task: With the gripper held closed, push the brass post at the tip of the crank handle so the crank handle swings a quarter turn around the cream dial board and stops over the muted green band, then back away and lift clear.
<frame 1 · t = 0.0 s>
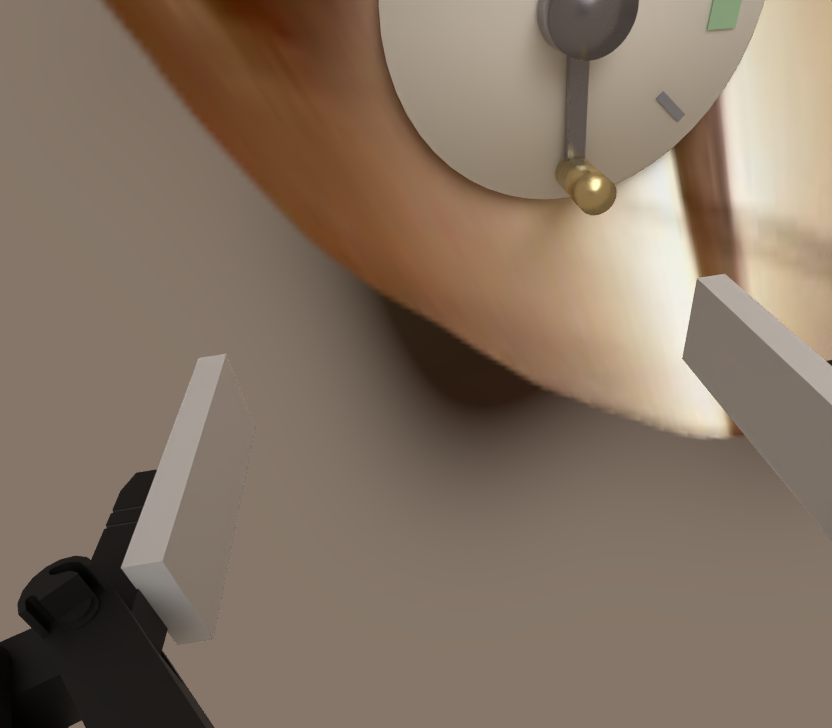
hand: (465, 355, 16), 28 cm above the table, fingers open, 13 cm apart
dial board: (570, 5, 36), on the table
crank handle: (588, 92, 35), point 4 cm above the table, hinge at 0.0°
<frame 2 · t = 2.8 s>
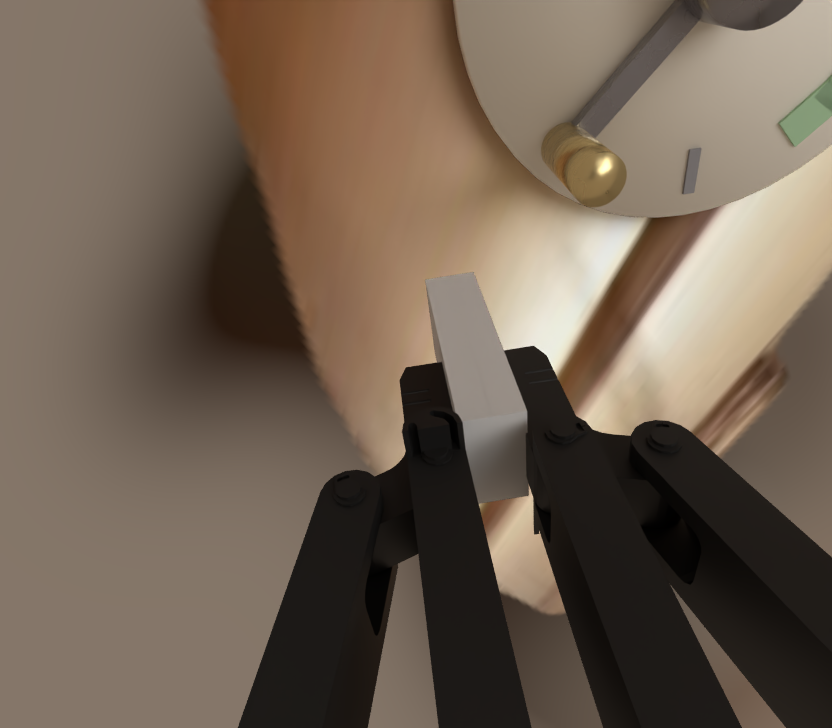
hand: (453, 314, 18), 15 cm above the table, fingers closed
crank handle: (675, 55, 25), point 4 cm above the table, hinge at 0.0°
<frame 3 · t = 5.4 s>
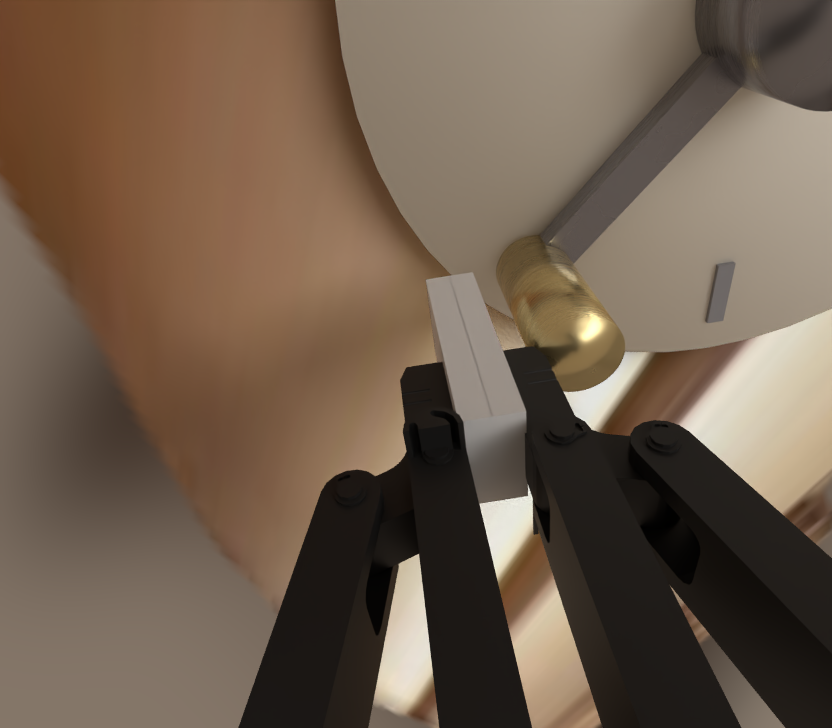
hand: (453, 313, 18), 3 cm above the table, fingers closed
crank handle: (704, 150, 15), point 4 cm above the table, hinge at 0.5°, touching gripper
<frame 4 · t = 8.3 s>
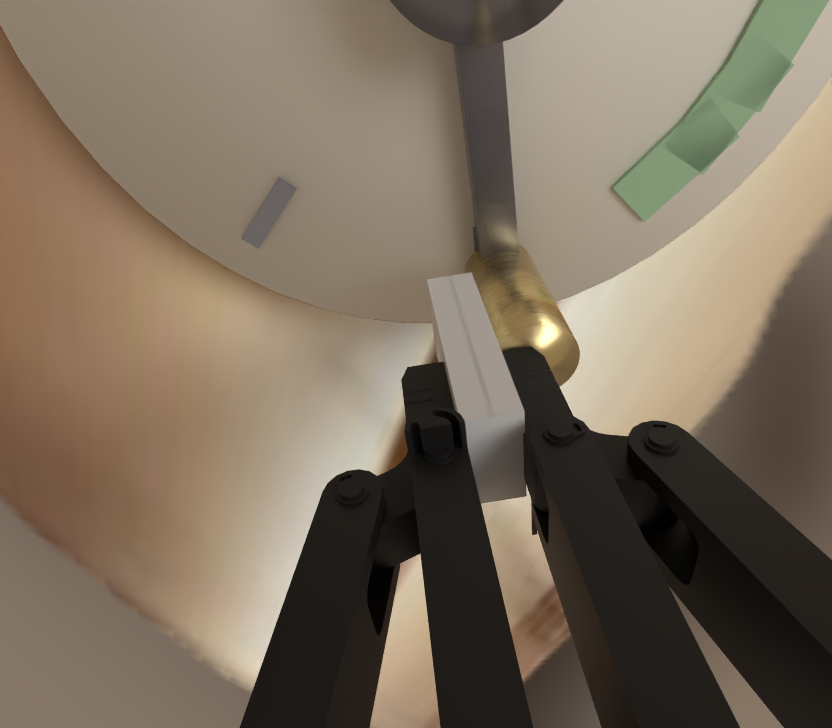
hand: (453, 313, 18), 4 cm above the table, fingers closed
crank handle: (498, 124, 14), point 4 cm above the table, hinge at 47.5°, touching gripper
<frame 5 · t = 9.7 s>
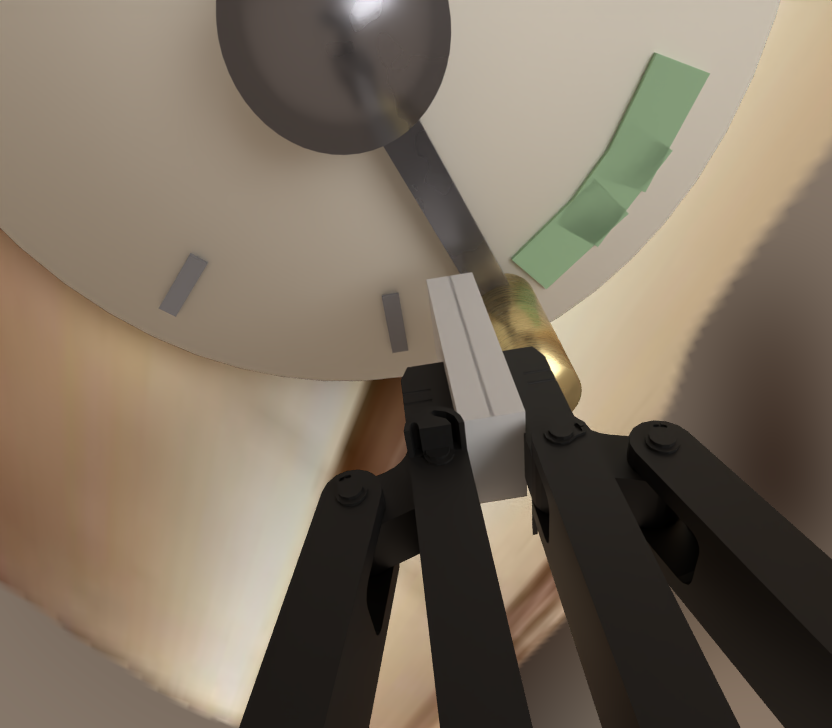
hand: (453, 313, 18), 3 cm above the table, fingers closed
dial board: (340, 15, 16), on the table
crank handle: (431, 197, 15), point 4 cm above the table, hinge at 67.5°, touching gripper
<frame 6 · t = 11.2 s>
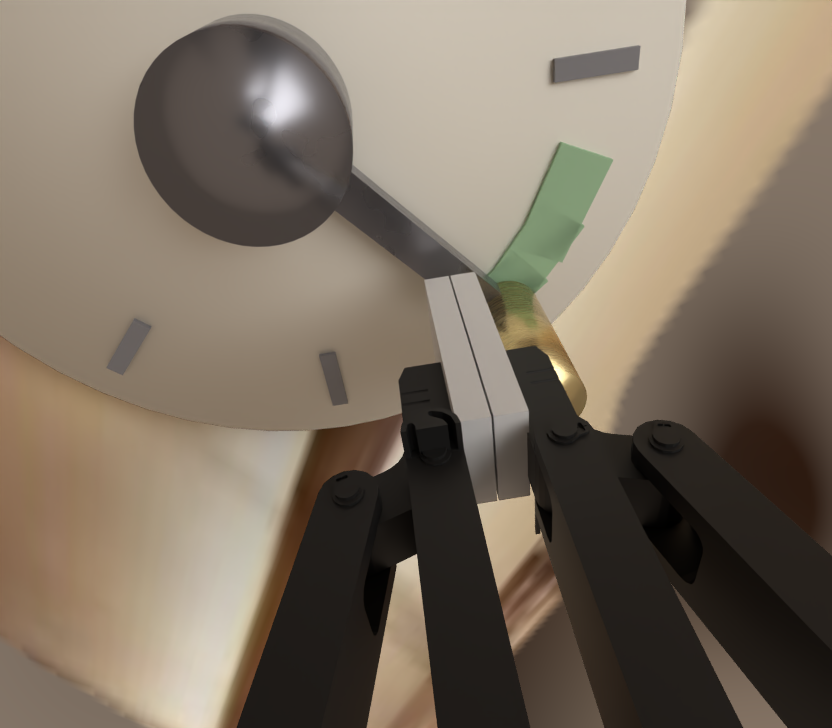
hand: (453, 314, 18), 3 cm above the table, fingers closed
dial board: (268, 106, 17), on the table
crank handle: (387, 249, 16), point 4 cm above the table, hinge at 86.2°, touching gripper
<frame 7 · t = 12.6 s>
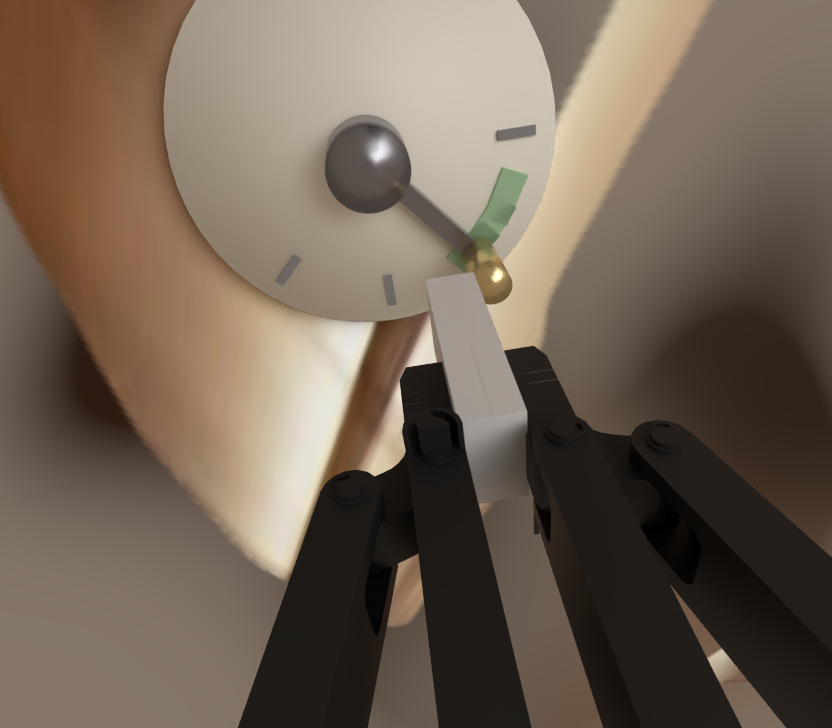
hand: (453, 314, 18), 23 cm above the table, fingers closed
dial board: (366, 151, 37), on the table
crank handle: (422, 216, 35), point 4 cm above the table, hinge at 85.5°
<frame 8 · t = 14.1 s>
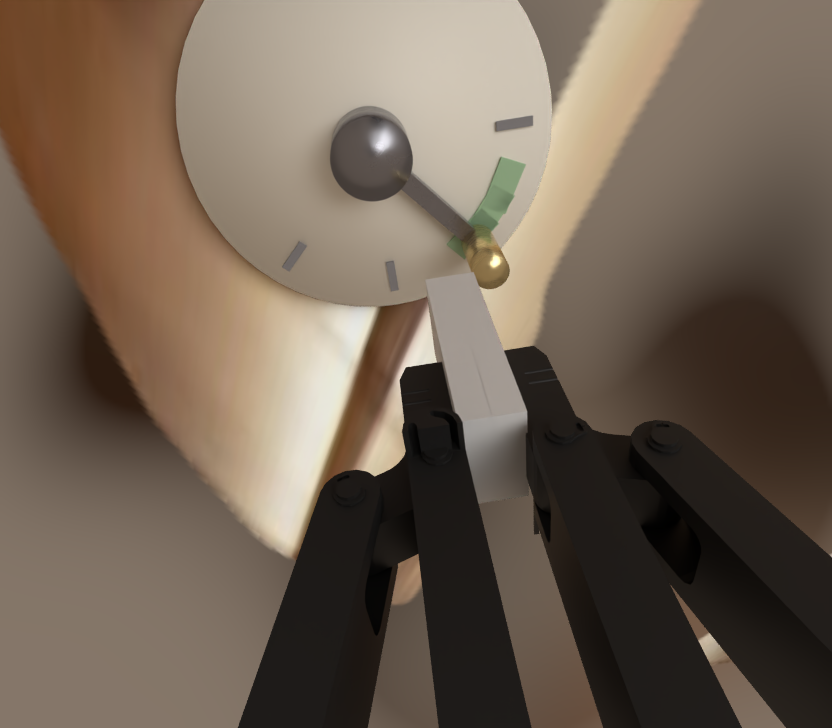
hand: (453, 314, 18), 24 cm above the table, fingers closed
dial board: (369, 141, 38), on the table
crank handle: (423, 204, 37), point 4 cm above the table, hinge at 85.5°
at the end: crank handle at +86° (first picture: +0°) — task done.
